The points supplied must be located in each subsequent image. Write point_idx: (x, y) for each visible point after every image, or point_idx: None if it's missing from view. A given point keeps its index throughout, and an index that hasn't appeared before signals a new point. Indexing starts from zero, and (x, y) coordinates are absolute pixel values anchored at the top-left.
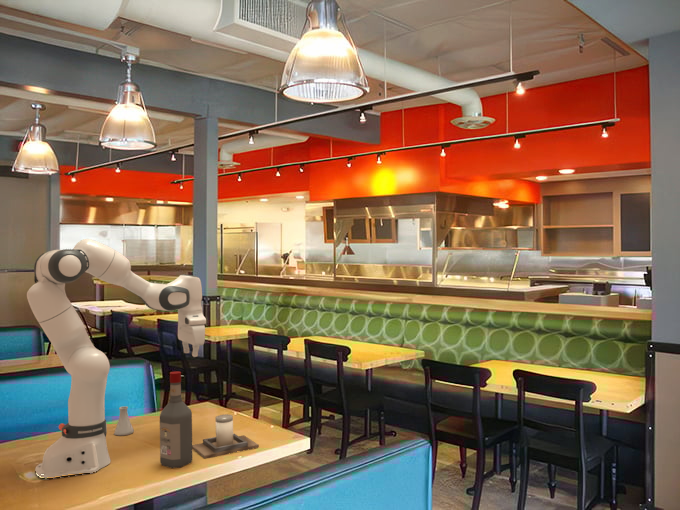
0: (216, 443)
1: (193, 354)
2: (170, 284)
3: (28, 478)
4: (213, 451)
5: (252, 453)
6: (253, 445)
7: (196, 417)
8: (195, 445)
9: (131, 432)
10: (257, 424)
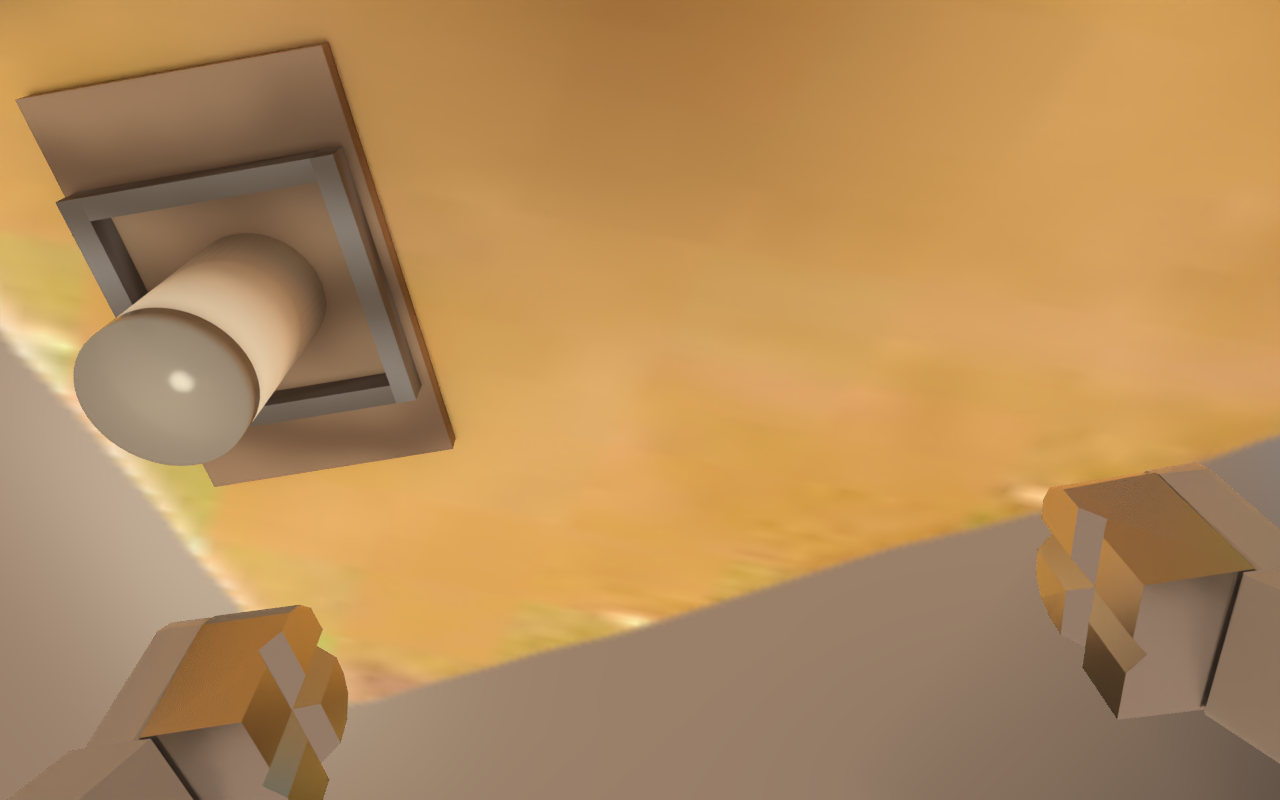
0: (236, 239)
1: (135, 680)
2: None
3: None
4: (108, 187)
5: None
6: None
7: (1150, 228)
8: (304, 76)
9: None
10: (712, 562)
